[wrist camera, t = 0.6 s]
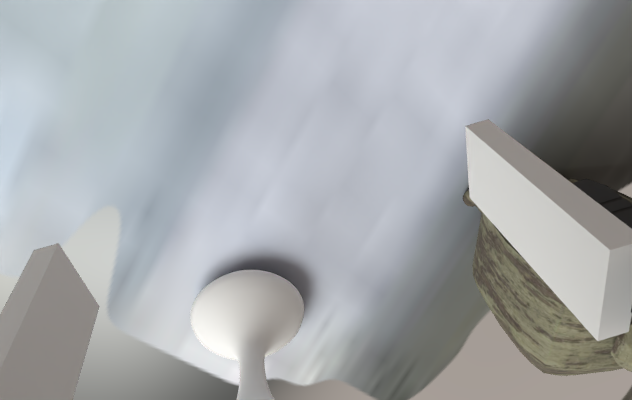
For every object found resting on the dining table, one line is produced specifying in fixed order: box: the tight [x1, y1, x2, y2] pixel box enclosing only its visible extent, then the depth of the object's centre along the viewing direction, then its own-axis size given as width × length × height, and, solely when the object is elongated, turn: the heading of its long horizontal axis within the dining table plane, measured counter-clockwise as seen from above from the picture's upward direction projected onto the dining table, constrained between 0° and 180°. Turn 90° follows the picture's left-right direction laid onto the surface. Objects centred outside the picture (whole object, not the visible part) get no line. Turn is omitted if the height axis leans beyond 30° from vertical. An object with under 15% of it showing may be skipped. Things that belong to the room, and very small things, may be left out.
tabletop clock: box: [463, 179, 632, 376], centre depth 40 cm, size 14×9×25 cm, turn 91°
